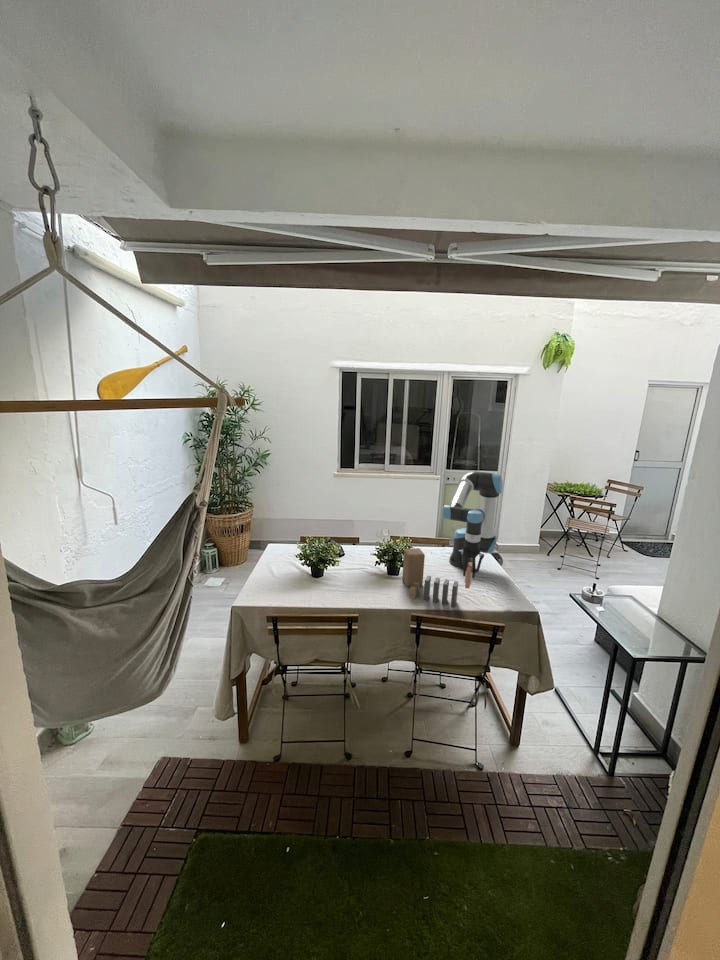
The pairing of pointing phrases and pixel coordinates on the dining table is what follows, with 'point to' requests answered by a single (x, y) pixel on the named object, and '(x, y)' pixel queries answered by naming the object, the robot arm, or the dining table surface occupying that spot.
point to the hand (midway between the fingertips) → (468, 582)
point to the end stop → (414, 590)
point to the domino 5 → (468, 575)
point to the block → (413, 566)
